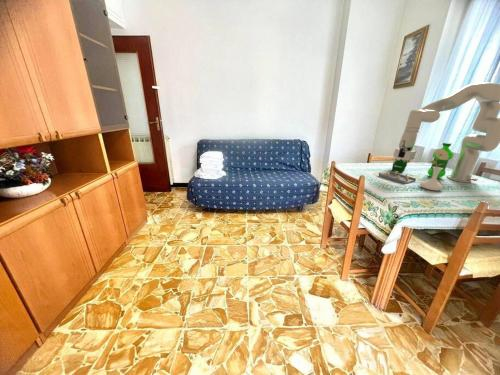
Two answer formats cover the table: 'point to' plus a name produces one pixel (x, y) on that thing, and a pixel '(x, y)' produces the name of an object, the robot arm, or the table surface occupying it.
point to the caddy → (397, 177)
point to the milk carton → (399, 164)
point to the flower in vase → (435, 172)
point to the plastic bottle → (441, 161)
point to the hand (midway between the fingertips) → (403, 156)
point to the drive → (408, 154)
